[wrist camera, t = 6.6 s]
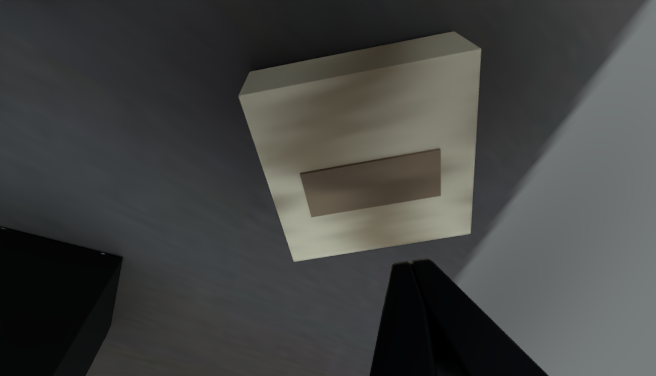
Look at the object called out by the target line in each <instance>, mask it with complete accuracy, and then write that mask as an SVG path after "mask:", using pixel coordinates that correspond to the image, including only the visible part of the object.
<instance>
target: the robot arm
mask: <svg viewBox="0 0 656 376" xmlns="http://www.w3.org/2000/svg"><path fill="white" fill-rule="evenodd" d="M370 376H548V375H547V374H546V373H545V372H544V371H543V370H542V369H541V368H540V367H539V366H538V365H537V364H536V363H535V362H534V361H533V360H532V359H531V358H530V357H529V356H528V355H527V354H526V353H525V352H524V351H523V350H522V349H521V348H520V347H519V346H518V345H517V344H516V343H515V342H514V341H513V340H512V339H511V338H510V337H509V336H508V335H507V334H506V333H505V332H504V331H503V330H502V329H501V328H500V327H499V326H498V325H497V324H496V323H495V322H494V321H493V320H492V319H491V318H489V316H488V315H486V314H485V313H484V312H483V311H482V310H481V309H480V308H479V307H478V306H477V305H476V304H475V303H474V302H473V301H472V300H471V299H470V298H469V297H468V296H467V295H466V294H465V293H464V292H463V291H462V290H461V289H460V288H459V287H458V286H457V285H456V284H455V283H454V282H453V281H452V280H451V279H450V278H449V277H448V276H447V275H446V274H445V273H444V272H443V271H442V270H441V269H440V268H439V267H438V266H437V265H436V264H435V263H434V262H433V261H432V260H430V259H428V258H426V259H419V260H413V261H412V262H411V263H410V262H408V261H406V262H399V263H394V264H392V266H391V271H390V276H389V281H388V286H387V291H386V296H385V301H384V306H383V311H382V316H381V321H380V326H379V331H378V336H377V341H376V346H375V351H374V356H373V361H372V366H371V371H370Z"/></svg>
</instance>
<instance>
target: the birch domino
mask: <svg viewBox="0 0 656 376" xmlns="http://www.w3.org/2000/svg"><path fill="white" fill-rule="evenodd" d="M480 62H481V48H479V47H478V46H476V45H475V44H473V43H471V42H470V41H468V40H467V39H465V38H464V37H462V36H461V35H459V34H458V33H456V32H454V31H453V32H448V33H442V34H437V35H432V36H427V37H422V38H417V39H412V40H407V41H402V42H397V43H392V44H387V45H382V46H377V47H372V48H367V49H362V50H357V51H352V52H347V53H342V54H337V55H332V56H326V57H321V58H316V59H311V60H306V61H301V62H296V63H291V64H286V65H281V66H276V67H271V68H266V69H261V70H256V71H251V72H249V74H248V76H247V78H246V81H245V83H244V85H243V87H242V89H241V91H240V93H239V99H240V102H241V105H242V108H243V111H244V114H245V117H246V120H247V123H248V126H249V129H250V132H251V135H252V138H253V141H254V144H255V147H256V150H257V153H258V156H259V159H260V162H261V165H262V168H263V171H264V174H265V177H266V180H267V183H268V186H269V189H270V192H271V195H272V197H273V200H274V203H275V206H276V209H277V212H278V215H279V218H280V221H281V224H282V227H283V230H284V233H285V236H286V239H287V242H288V245H289V248H290V251H291V254H292V257H293V260H294V262H295V261H301V260H308V259H314V258H320V257H327V256H333V255H339V254H346V253H352V252H358V251H364V250H371V249H377V248H383V247H390V246H396V245H402V244H409V243H415V242H421V241H428V240H434V239H440V238H446V237H453V236H459V235H465V234H470V233H471V216H472V199H473V182H474V165H475V147H476V130H477V113H478V96H479V79H480Z"/></svg>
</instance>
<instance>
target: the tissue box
mask: <svg viewBox="0 0 656 376" xmlns="http://www.w3.org/2000/svg"><path fill="white" fill-rule="evenodd" d="M121 263H122V259H120V258H116V257H112V256H109V255H106V254H105V253H98V252H94V251H90V250H86V249H82V248H78V247H74V246H70V245H66V244H62V243H58V242H54V241H50V240H46V239H42V238H38V237H34V236H30V235H26V234H22V233H18V232H14V231H10V230H6V229H5V228H0V376H86V374H87V372H88V370H89V368H90V366H91V364H92V362H93V360H94V358H95V356H96V354H97V353H98V351H99V349H100V347H101V345H102V343H103V341H104V339H105V337H106V335H107V333H108V331H109V329H110V324H111V318H112V313H113V307H114V302H115V296H116V291H117V285H118V279H119V274H120V268H121Z"/></svg>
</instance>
